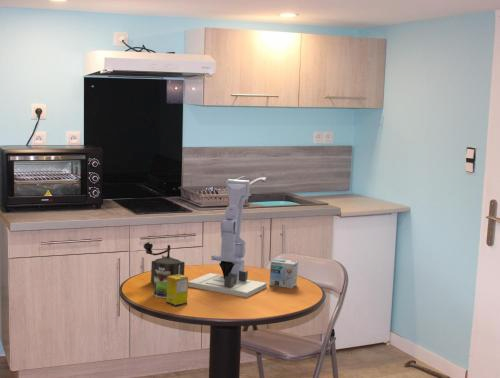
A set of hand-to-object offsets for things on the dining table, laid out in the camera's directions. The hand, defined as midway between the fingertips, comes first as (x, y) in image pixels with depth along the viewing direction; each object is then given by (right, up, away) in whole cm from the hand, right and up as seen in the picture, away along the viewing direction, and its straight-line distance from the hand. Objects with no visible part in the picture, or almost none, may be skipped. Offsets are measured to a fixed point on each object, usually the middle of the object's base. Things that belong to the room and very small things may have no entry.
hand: (226, 278), depth 305 cm
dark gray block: (+3, -1, -1) cm, 3 cm away
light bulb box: (+24, -4, +8) cm, 26 cm away
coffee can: (-24, -5, -17) cm, 29 cm away
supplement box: (-18, -6, -28) cm, 34 cm away
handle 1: (+1, -2, -8) cm, 8 cm away
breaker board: (0, -3, 0) cm, 3 cm away
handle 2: (+7, -1, +4) cm, 8 cm away
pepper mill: (-27, -2, 0) cm, 27 cm away
